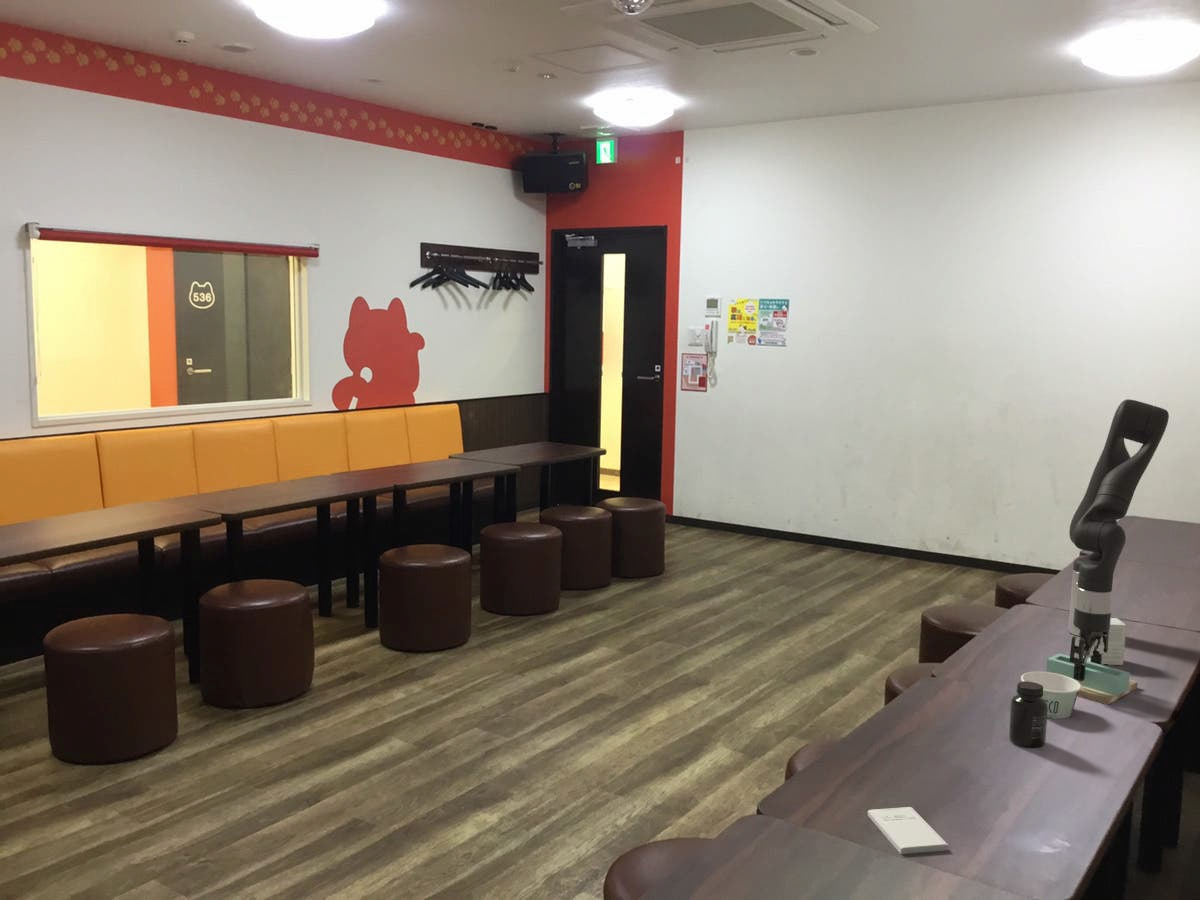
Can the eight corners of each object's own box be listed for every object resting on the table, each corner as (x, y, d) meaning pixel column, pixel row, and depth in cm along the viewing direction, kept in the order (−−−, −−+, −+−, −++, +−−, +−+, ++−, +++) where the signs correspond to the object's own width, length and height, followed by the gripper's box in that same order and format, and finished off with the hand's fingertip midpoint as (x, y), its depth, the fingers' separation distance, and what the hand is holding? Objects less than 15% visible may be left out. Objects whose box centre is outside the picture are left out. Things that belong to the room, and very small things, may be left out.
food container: (1078, 705, 218) (1081, 676, 217) (1079, 725, 207) (1082, 695, 206) (1019, 695, 222) (1021, 667, 222) (1017, 714, 212) (1019, 685, 211)
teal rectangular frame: (1128, 689, 223) (1130, 672, 222) (1117, 695, 219) (1118, 678, 218) (1058, 669, 235) (1059, 653, 234) (1046, 675, 231) (1047, 658, 230)
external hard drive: (900, 857, 156) (867, 818, 169) (948, 853, 158) (911, 814, 170) (900, 847, 156) (867, 809, 168) (948, 844, 158) (912, 805, 170)
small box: (1114, 658, 248) (1117, 617, 246) (1123, 665, 242) (1127, 624, 241) (1080, 656, 249) (1084, 616, 247) (1089, 664, 243) (1093, 623, 242)
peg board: (1072, 669, 239) (1073, 651, 239) (1137, 687, 228) (1139, 669, 227) (1040, 684, 229) (1042, 666, 228) (1107, 704, 218) (1109, 685, 217)
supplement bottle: (1043, 738, 200) (1048, 681, 198) (1046, 752, 194) (1051, 693, 192) (1007, 733, 202) (1011, 677, 201) (1009, 746, 196) (1013, 689, 194)
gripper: (1096, 617, 217) (1090, 687, 219) (1123, 605, 226) (1117, 673, 228) (1062, 609, 223) (1056, 678, 225) (1089, 598, 232) (1084, 664, 234)
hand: (1087, 675), depth 227 cm, fingers open, 8 cm apart
